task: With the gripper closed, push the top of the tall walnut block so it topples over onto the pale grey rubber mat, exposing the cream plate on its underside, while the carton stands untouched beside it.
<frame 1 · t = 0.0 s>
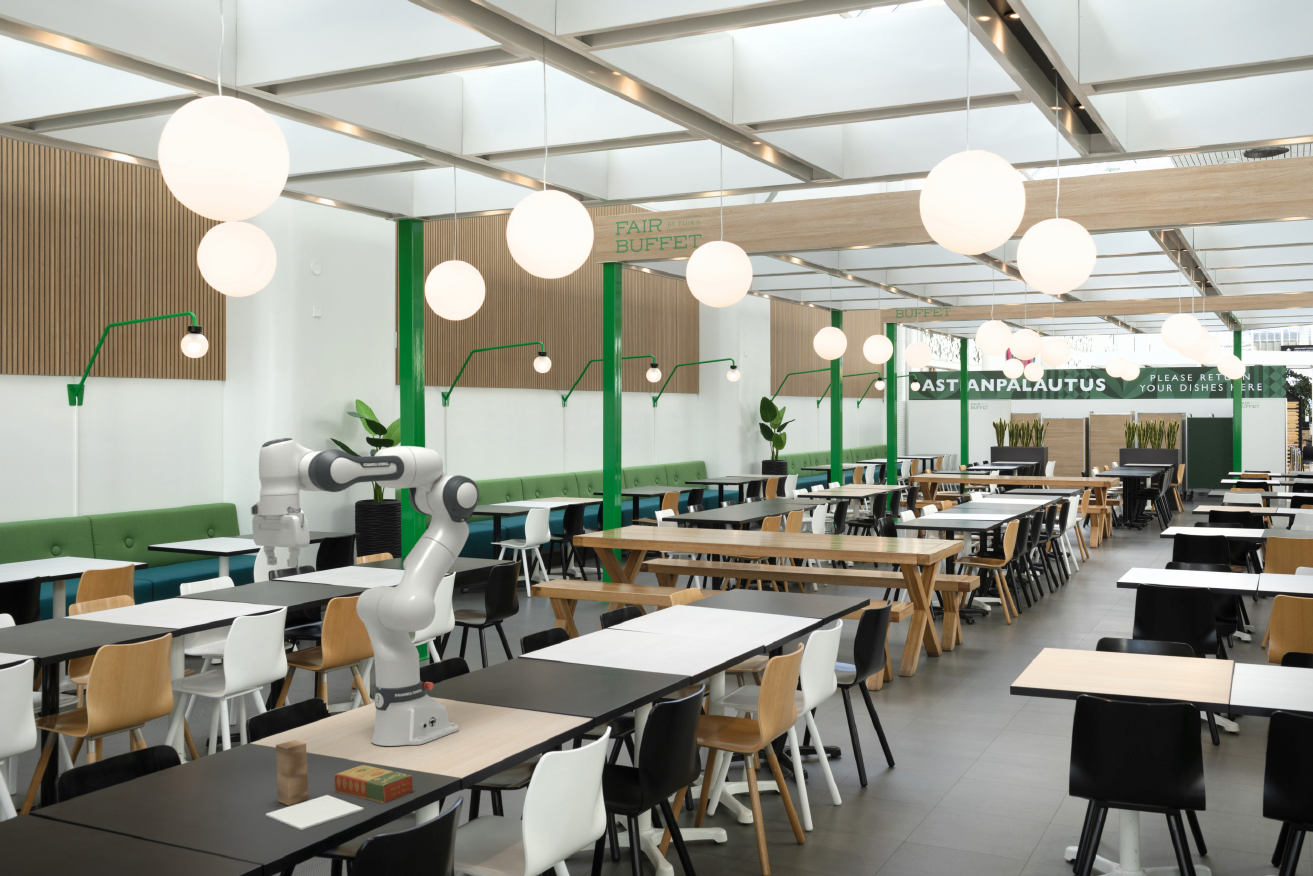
hand: (282, 565, 245), 48 cm above the table, fingers open, 8 cm apart
mat: (314, 812, 213), on the table
block: (293, 801, 221), on the table
carton: (374, 794, 225), on the table
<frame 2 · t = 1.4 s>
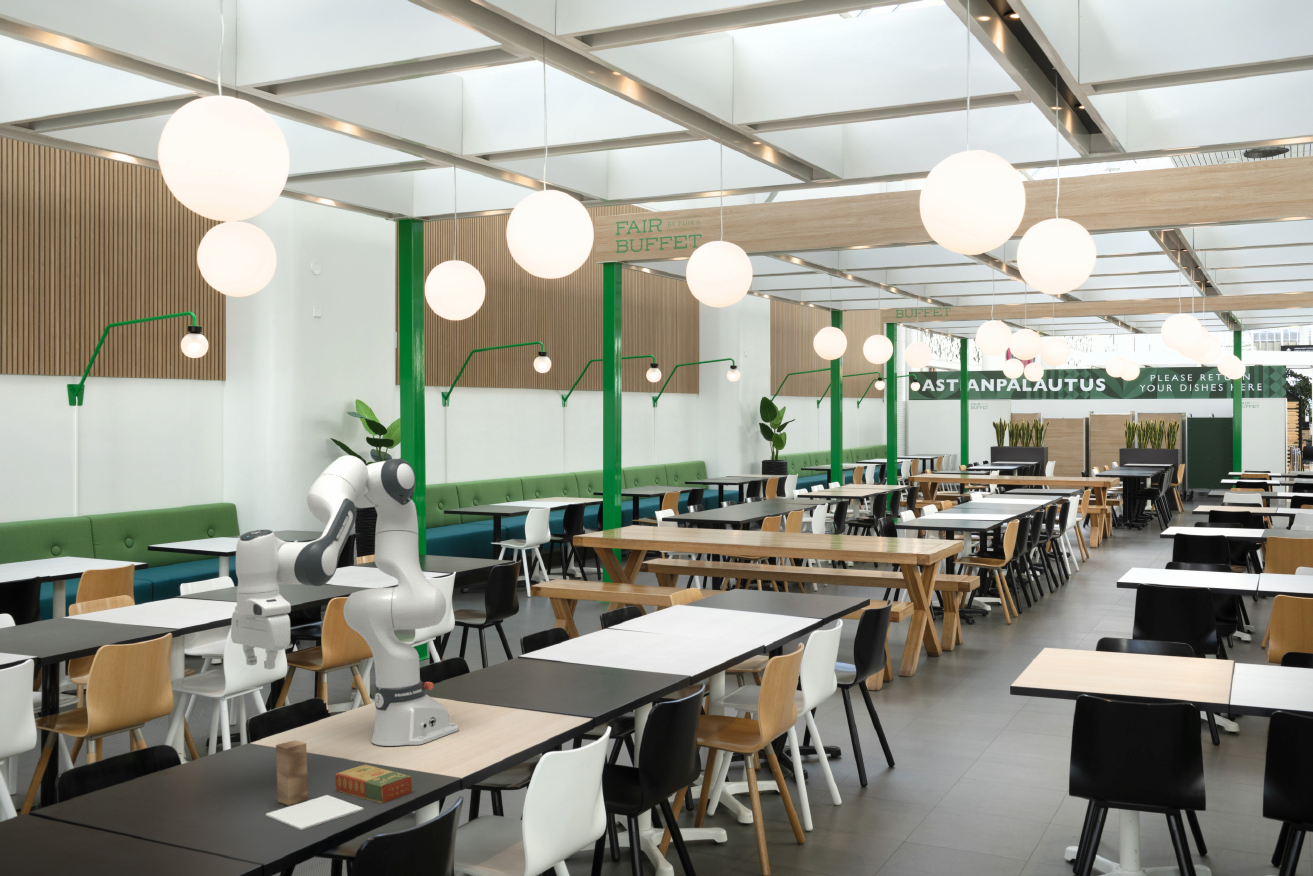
hand: (260, 666, 229), 27 cm above the table, fingers open, 7 cm apart
nothing on the table moved.
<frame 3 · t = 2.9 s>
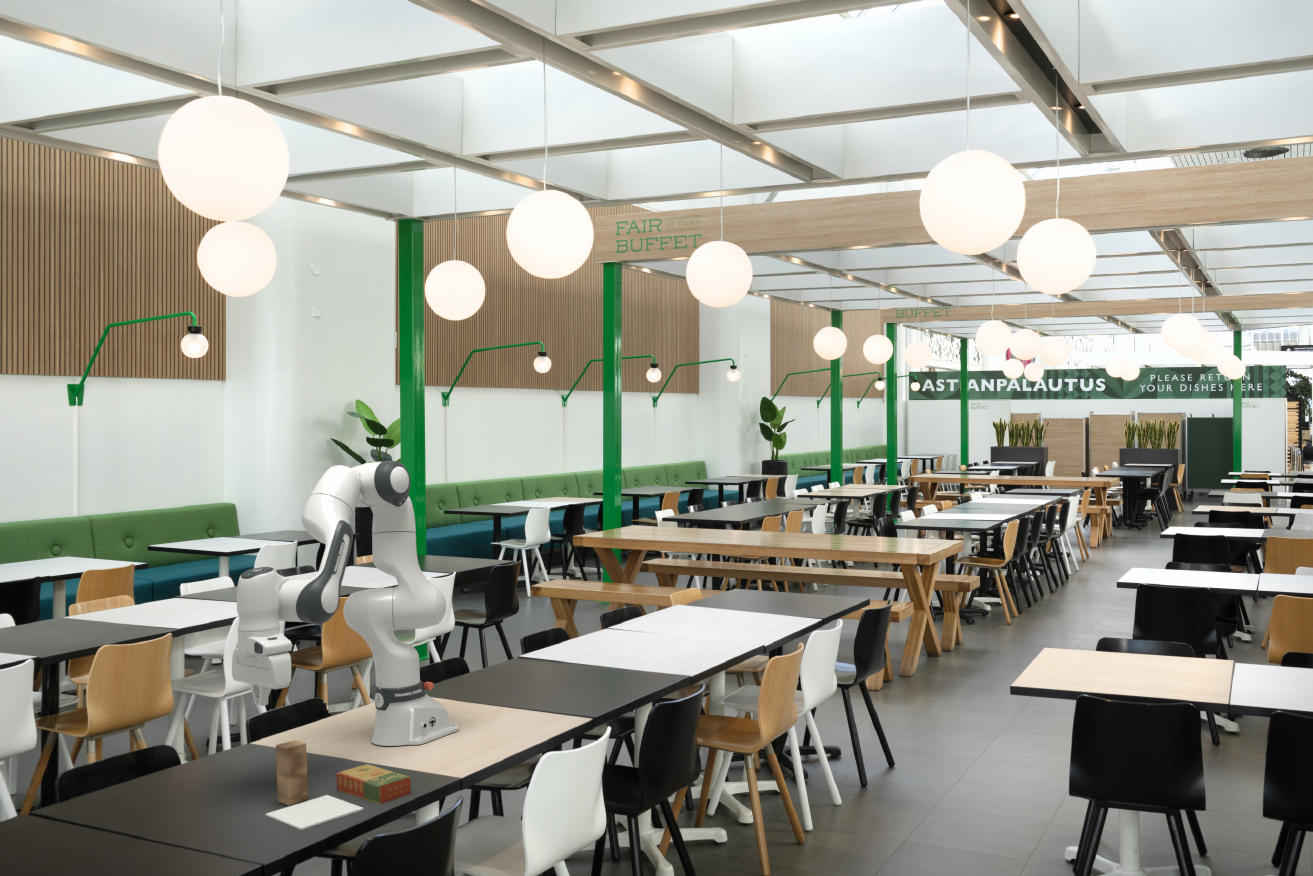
hand: (261, 704, 229), 19 cm above the table, fingers closed
nothing on the table moved.
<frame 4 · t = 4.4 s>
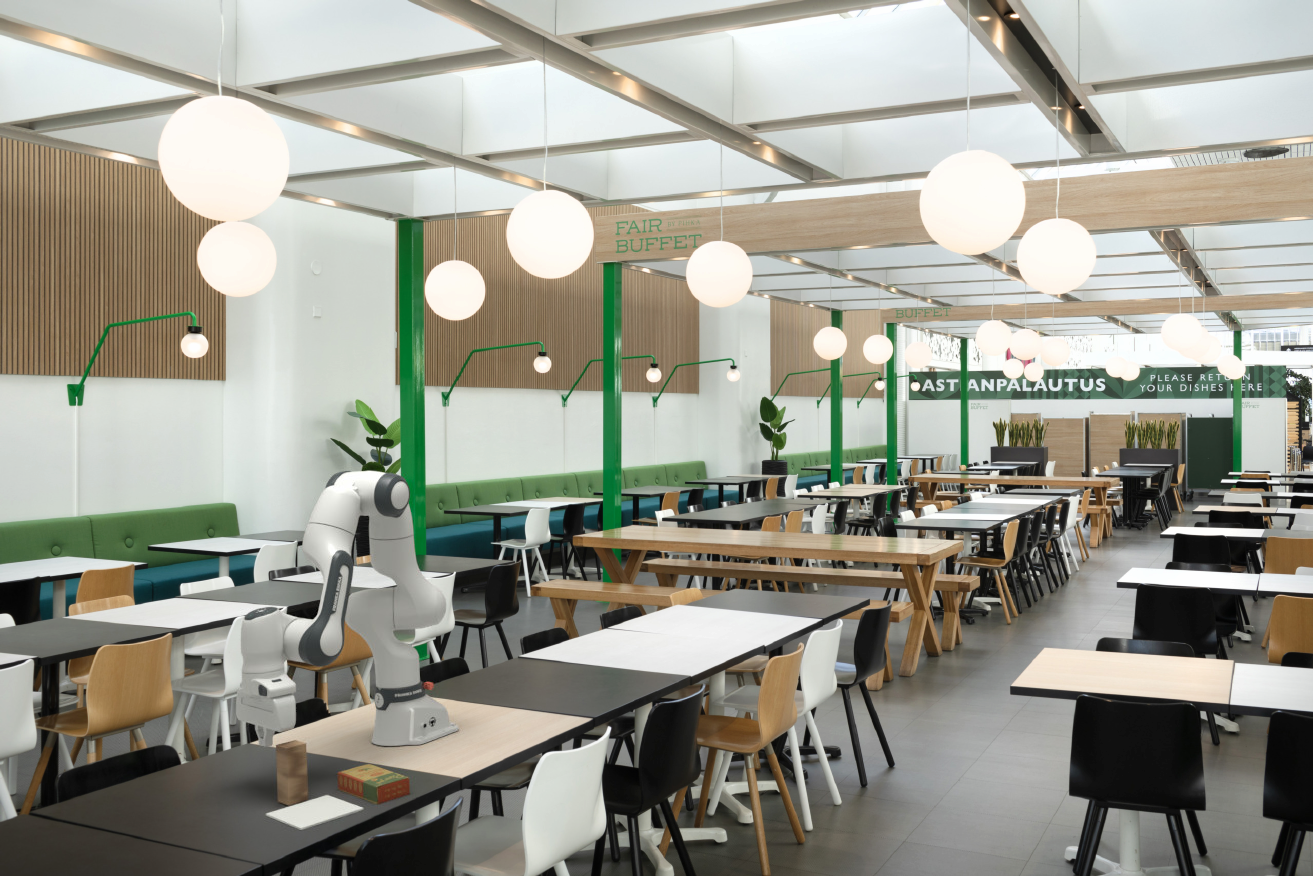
hand: (265, 745, 228), 10 cm above the table, fingers closed
nothing on the table moved.
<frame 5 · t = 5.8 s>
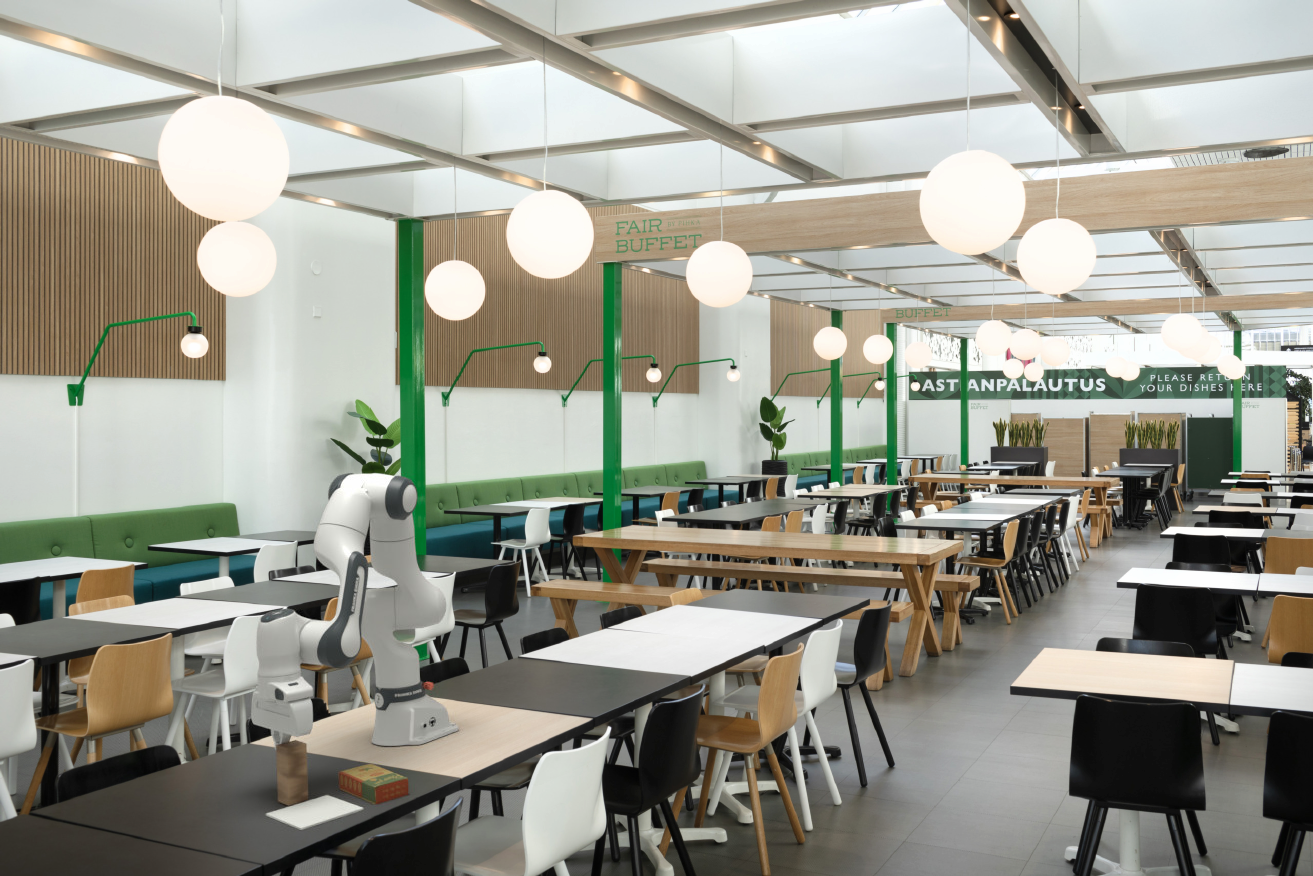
hand: (281, 750, 223), 10 cm above the table, fingers closed
block: (293, 801, 221), on the table, touching gripper
everything else where it was.
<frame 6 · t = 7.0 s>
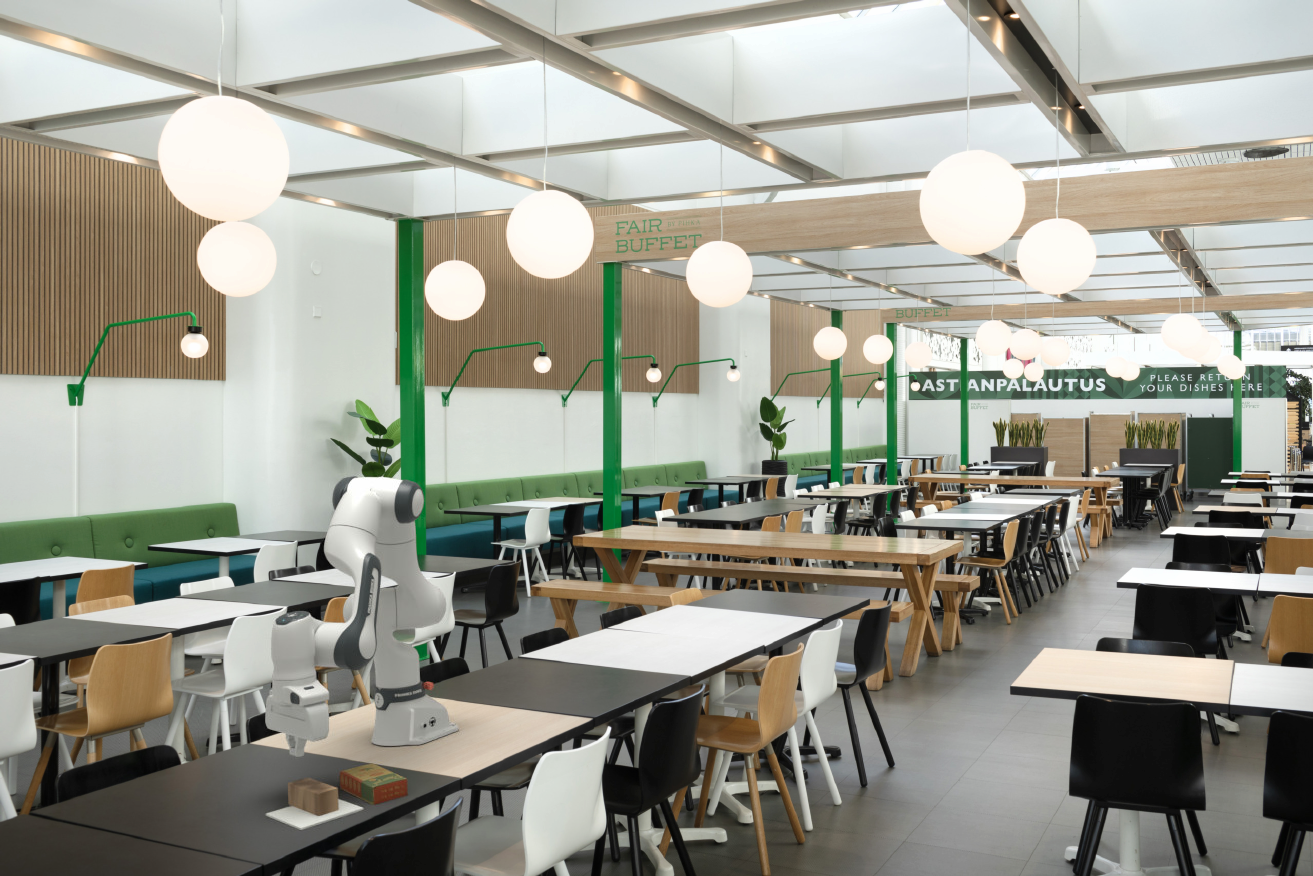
hand: (297, 755, 219), 10 cm above the table, fingers closed
block: (297, 790, 220), point 3 cm above the table, tilted 90°, touching mat
everything else where it was.
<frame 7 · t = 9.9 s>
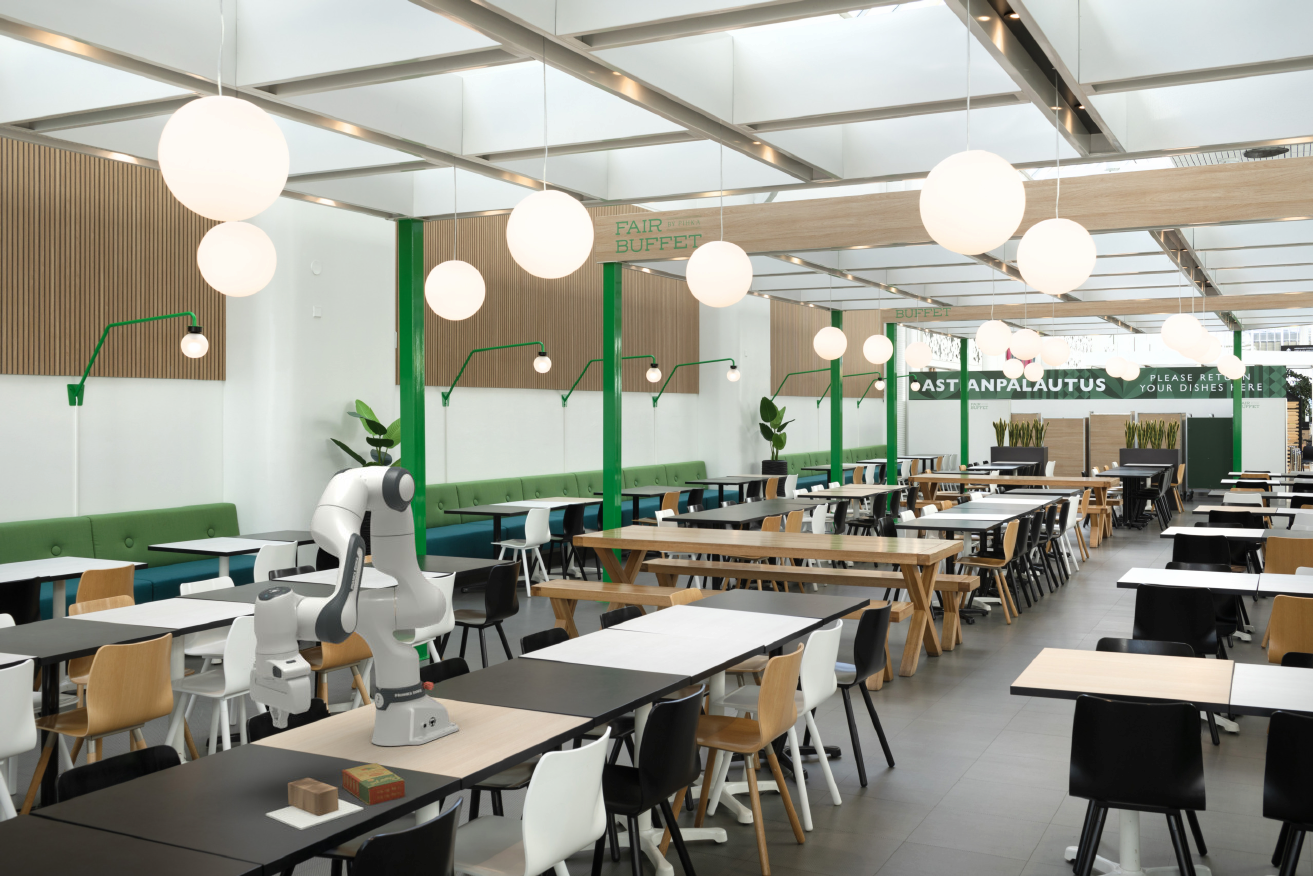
hand: (280, 726, 225), 15 cm above the table, fingers closed
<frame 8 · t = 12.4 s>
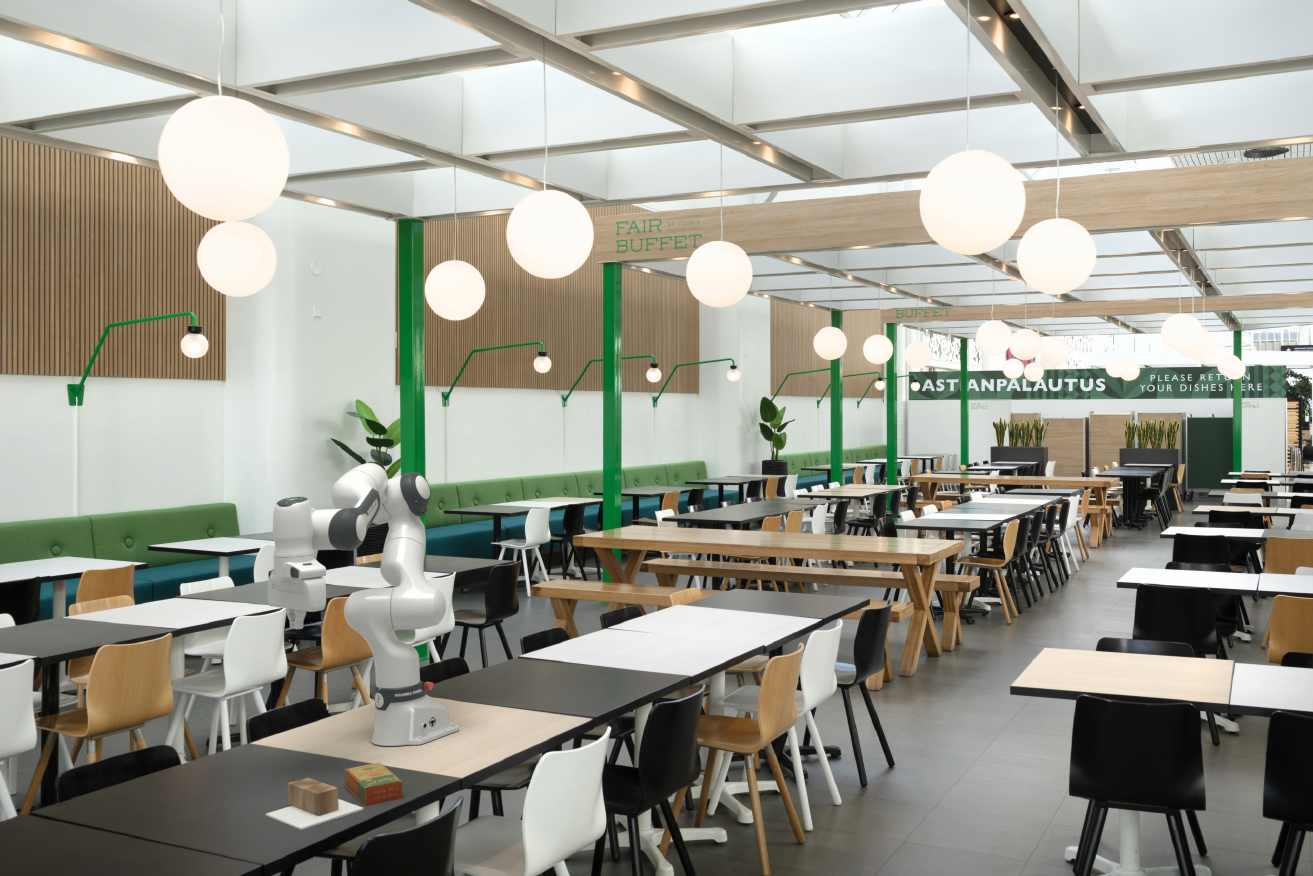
hand: (296, 628, 238), 34 cm above the table, fingers closed
at the end: block tilted 90°; block inside the target area (6.6 cm from its centre), point 2.6 cm above the table; the gripper is holding nothing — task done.
